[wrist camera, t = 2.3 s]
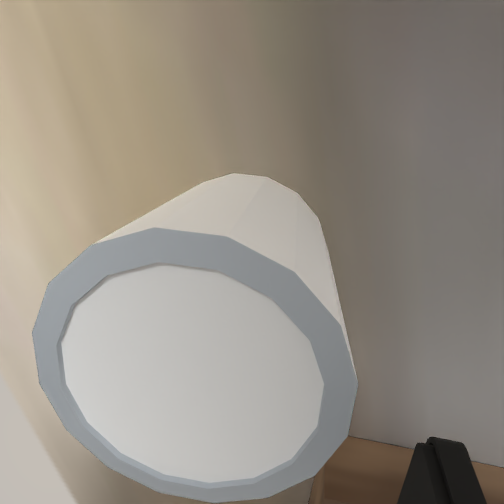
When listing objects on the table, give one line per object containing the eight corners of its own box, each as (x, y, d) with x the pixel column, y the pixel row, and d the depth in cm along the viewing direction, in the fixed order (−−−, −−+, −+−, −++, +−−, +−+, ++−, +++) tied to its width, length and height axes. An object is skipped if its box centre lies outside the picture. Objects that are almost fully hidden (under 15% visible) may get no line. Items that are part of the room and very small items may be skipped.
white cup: (261, 370, 17) (221, 549, 11) (114, 261, 17) (-21, 387, 10) (391, 245, 15) (438, 389, 8) (223, 106, 14) (133, 148, 8)
